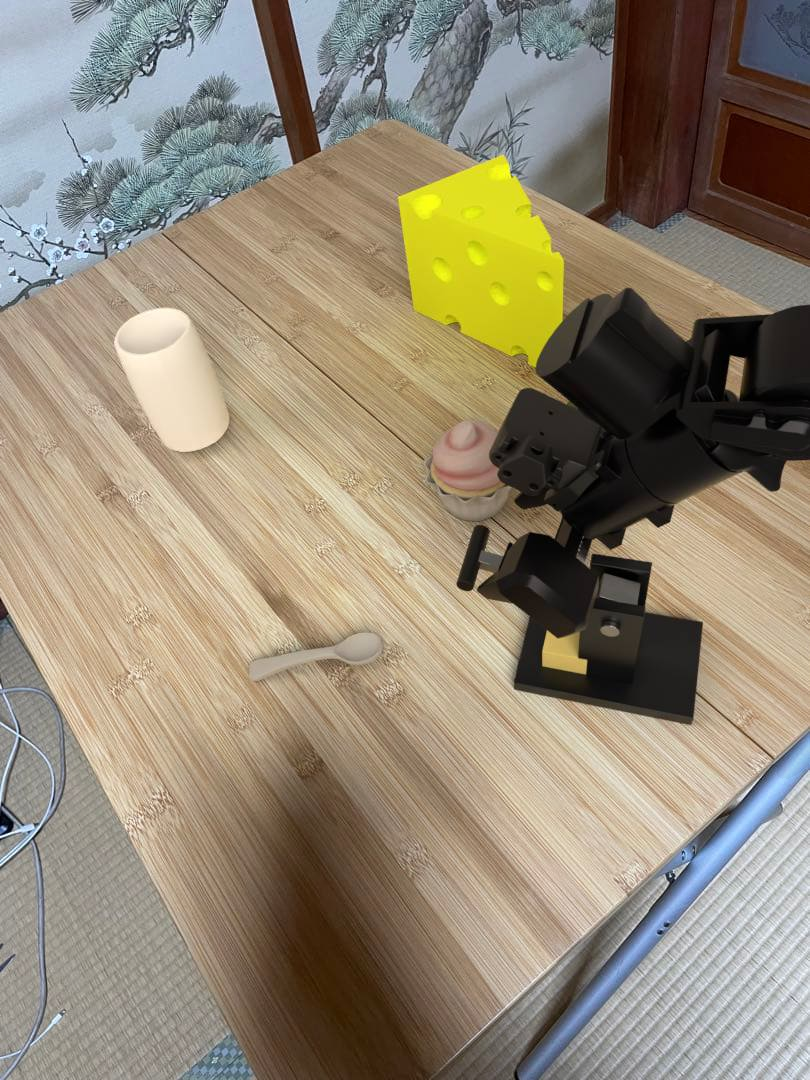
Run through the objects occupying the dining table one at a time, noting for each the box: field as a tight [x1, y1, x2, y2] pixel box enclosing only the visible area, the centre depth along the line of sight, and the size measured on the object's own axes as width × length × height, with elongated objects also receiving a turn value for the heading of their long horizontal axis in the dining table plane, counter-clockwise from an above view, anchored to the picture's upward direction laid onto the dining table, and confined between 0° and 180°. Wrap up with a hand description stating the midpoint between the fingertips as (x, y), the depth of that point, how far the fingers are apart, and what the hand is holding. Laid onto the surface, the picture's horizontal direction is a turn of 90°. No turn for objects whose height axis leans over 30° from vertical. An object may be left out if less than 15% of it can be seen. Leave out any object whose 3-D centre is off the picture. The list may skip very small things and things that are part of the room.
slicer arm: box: [455, 524, 640, 605], centre depth 63 cm, size 13×6×2 cm, turn 73°
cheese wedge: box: [397, 154, 565, 369], centre depth 94 cm, size 19×20×15 cm
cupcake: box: [423, 419, 513, 522], centre depth 78 cm, size 9×9×10 cm
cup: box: [113, 307, 230, 453], centre depth 88 cm, size 8×8×14 cm
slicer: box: [513, 553, 704, 726], centre depth 65 cm, size 14×9×11 cm, turn 73°
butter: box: [542, 631, 587, 674], centre depth 68 cm, size 5×4×2 cm
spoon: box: [248, 631, 385, 682], centre depth 72 cm, size 3×12×2 cm, turn 97°
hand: (500, 546), depth 63 cm, fingers open, 9 cm apart
